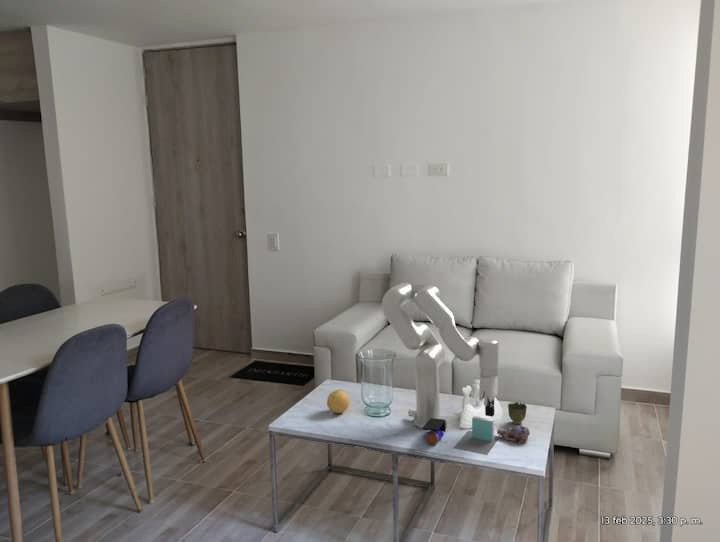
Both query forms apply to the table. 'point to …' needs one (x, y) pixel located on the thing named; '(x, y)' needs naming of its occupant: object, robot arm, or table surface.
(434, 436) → the figurine character
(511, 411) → the cup
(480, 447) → the mat
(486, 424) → the tile
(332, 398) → the orange fruit
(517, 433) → the skull
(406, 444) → the table surface
